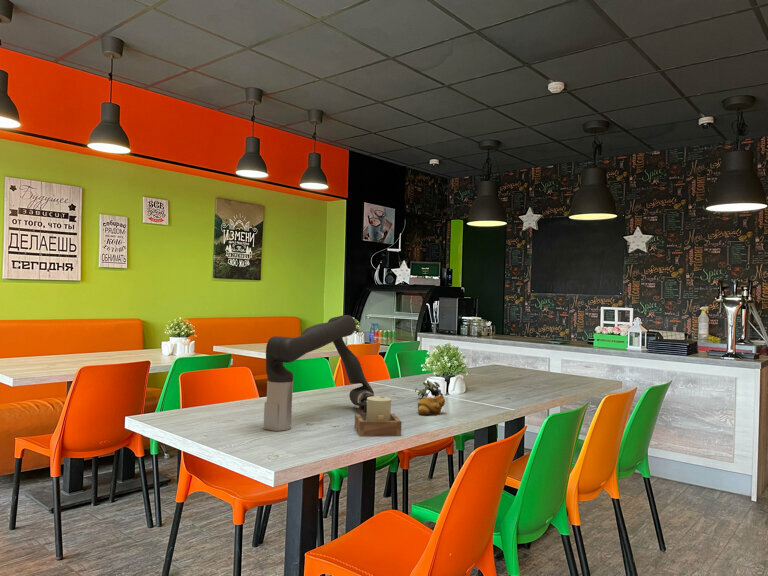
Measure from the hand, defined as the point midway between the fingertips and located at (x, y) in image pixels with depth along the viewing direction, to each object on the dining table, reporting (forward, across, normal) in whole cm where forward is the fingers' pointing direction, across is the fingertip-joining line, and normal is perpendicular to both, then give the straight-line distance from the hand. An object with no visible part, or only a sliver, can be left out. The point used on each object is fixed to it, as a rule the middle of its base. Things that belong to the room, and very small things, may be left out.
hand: (374, 410), depth 209 cm
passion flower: (-54, +36, +6) cm, 66 cm away
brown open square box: (+6, 0, +6) cm, 9 cm away
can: (+4, +1, +6) cm, 8 cm away
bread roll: (-24, +28, +6) cm, 37 cm away
